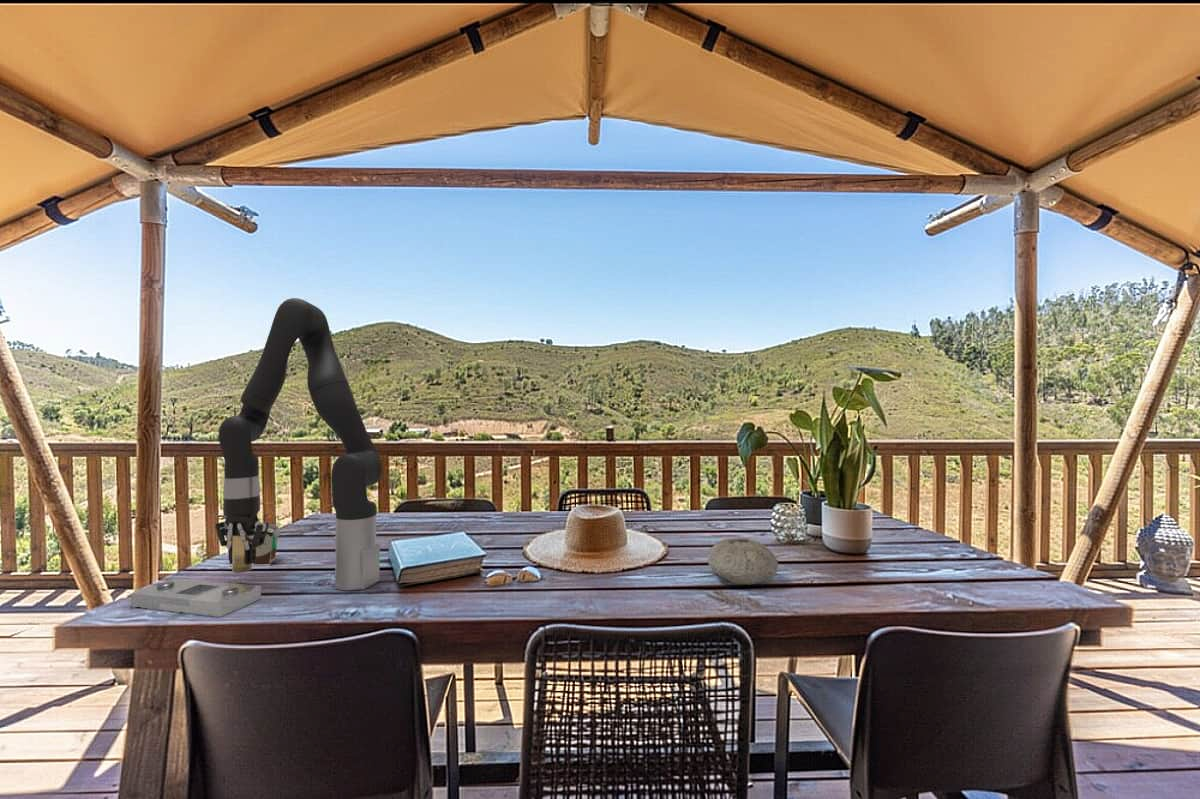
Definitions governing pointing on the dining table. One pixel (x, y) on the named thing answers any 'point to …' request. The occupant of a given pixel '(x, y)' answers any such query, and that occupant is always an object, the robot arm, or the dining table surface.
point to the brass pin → (239, 555)
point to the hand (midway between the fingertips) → (242, 563)
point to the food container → (268, 546)
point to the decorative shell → (742, 561)
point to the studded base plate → (196, 597)
